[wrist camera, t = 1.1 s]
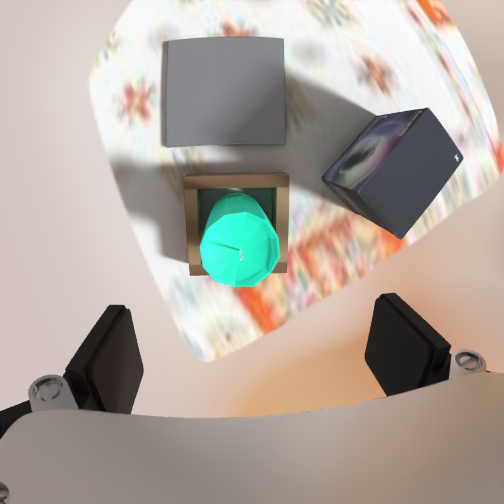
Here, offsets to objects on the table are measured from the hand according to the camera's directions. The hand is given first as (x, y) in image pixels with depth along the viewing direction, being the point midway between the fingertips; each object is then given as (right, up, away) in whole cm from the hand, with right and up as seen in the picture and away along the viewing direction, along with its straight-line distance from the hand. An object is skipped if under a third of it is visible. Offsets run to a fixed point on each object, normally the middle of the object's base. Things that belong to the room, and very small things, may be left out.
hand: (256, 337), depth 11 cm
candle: (-2, +7, +21) cm, 23 cm away
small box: (+13, +13, +20) cm, 27 cm away
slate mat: (-3, +20, +17) cm, 26 cm away
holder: (-2, +6, +21) cm, 22 cm away
